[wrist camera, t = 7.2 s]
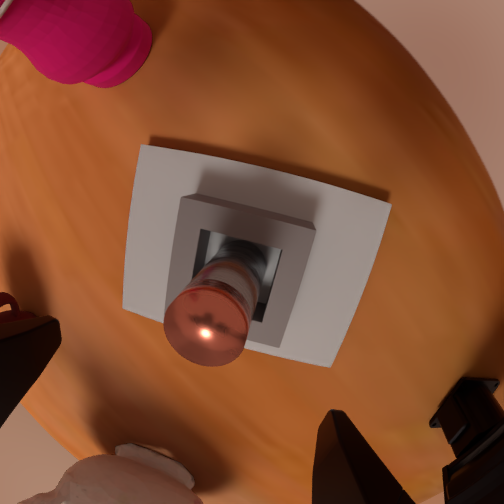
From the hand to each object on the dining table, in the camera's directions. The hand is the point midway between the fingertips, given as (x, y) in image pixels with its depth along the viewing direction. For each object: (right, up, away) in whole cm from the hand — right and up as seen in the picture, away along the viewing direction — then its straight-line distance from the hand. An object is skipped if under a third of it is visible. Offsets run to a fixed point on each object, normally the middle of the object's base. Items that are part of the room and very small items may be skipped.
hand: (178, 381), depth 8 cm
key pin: (+1, +3, +10) cm, 11 cm away
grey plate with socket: (+2, +3, +11) cm, 12 cm away
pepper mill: (-8, +19, +9) cm, 22 cm away
